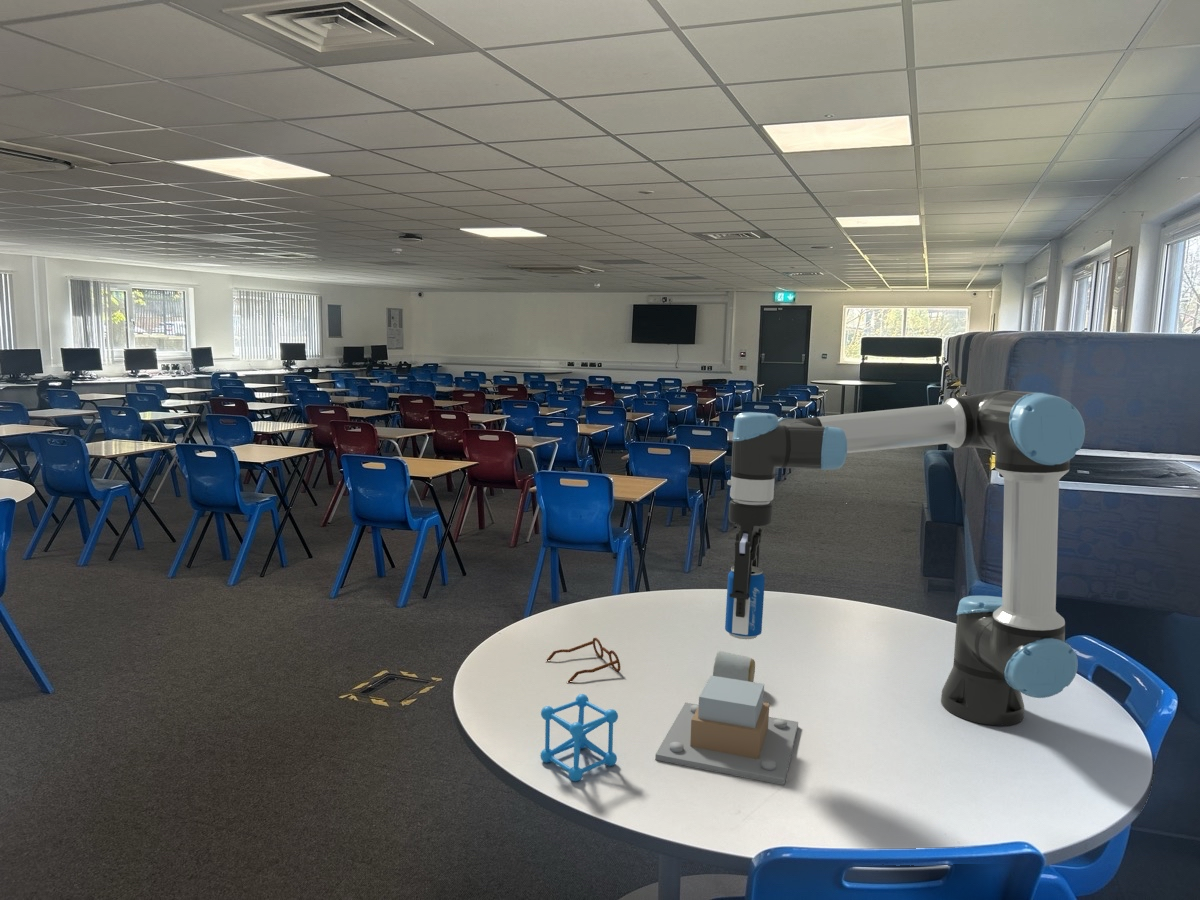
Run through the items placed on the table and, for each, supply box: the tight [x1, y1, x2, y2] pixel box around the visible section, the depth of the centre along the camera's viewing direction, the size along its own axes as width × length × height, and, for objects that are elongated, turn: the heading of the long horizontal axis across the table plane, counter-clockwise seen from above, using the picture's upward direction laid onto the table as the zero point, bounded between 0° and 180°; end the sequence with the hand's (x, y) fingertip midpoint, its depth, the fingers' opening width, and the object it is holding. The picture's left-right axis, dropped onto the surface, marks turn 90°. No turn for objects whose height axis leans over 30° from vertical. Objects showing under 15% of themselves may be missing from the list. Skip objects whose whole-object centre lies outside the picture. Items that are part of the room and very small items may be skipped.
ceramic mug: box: [712, 650, 756, 682], centre depth 170 cm, size 11×8×8 cm
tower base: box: [655, 675, 799, 786], centre depth 145 cm, size 22×22×10 cm
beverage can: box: [724, 565, 766, 640], centre depth 143 cm, size 6×6×12 cm
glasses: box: [546, 637, 621, 682], centre depth 178 cm, size 13×13×5 cm
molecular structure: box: [539, 693, 619, 782], centre depth 137 cm, size 10×10×10 cm
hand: (743, 626), depth 144 cm, fingers closed on beverage can, 6 cm apart
